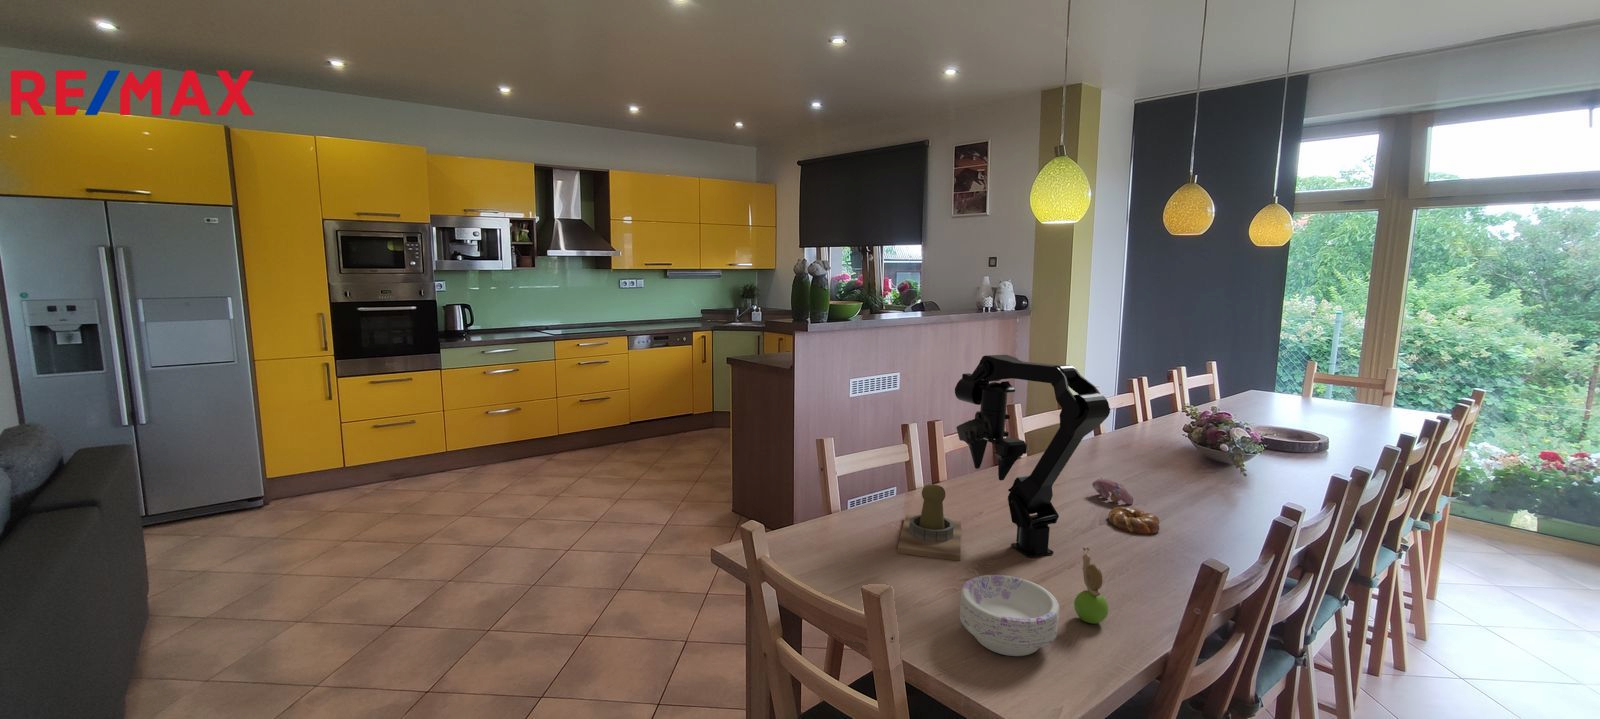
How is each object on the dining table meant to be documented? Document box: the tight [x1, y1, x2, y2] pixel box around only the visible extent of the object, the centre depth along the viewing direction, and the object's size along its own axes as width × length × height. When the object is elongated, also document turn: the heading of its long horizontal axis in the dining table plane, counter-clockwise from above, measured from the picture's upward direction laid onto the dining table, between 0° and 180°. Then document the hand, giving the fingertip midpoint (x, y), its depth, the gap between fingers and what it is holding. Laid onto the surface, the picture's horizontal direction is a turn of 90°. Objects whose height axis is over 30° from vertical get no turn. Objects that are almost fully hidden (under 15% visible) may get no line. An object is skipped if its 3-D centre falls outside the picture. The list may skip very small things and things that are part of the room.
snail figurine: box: [1073, 547, 1109, 625], centre depth 114 cm, size 5×6×12 cm
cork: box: [919, 483, 947, 530], centre depth 148 cm, size 6×6×11 cm
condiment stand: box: [897, 514, 962, 562], centre depth 148 cm, size 20×13×4 cm, turn 166°
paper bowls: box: [959, 574, 1060, 657], centre depth 107 cm, size 15×15×8 cm
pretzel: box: [1107, 506, 1161, 535], centre depth 160 cm, size 12×11×4 cm
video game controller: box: [1091, 477, 1134, 505], centre depth 177 cm, size 10×5×7 cm, turn 26°
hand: (988, 474), depth 154 cm, fingers open, 9 cm apart
